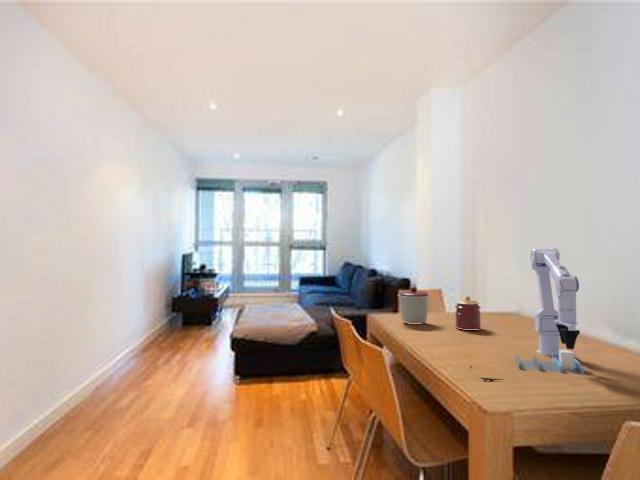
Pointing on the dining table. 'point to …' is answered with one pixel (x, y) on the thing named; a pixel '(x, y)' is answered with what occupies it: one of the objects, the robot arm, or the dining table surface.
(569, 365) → the block
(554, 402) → the dining table surface
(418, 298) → the canister
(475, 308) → the canister
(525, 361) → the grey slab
